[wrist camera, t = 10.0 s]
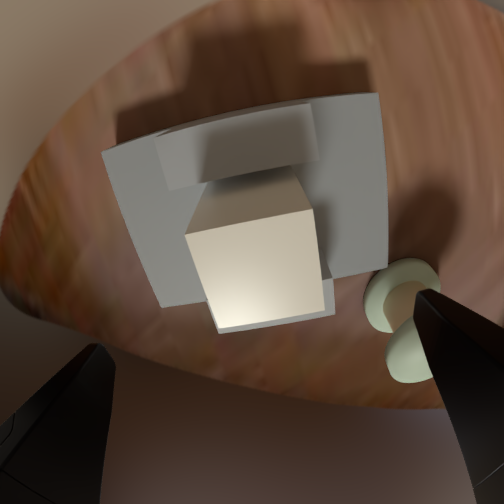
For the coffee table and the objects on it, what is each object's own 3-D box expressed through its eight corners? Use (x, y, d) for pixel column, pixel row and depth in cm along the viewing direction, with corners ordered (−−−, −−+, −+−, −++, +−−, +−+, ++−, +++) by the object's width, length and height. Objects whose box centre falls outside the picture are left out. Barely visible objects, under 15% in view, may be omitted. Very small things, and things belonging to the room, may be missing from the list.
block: (289, 163, 14) (313, 209, 9) (302, 236, 16) (324, 310, 11) (208, 180, 15) (184, 234, 10) (228, 251, 17) (218, 328, 11)
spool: (438, 250, 19) (483, 301, 14) (429, 314, 22) (460, 367, 17) (362, 267, 20) (394, 328, 14) (362, 331, 22) (384, 392, 17)
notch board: (364, 92, 14) (406, 95, 10) (376, 251, 19) (407, 297, 15) (115, 144, 16) (72, 167, 11) (168, 289, 20) (149, 341, 16)
